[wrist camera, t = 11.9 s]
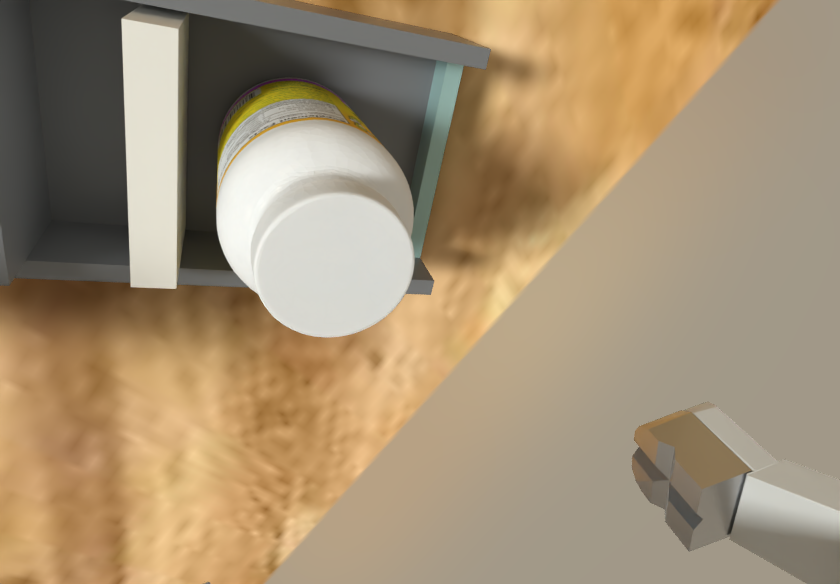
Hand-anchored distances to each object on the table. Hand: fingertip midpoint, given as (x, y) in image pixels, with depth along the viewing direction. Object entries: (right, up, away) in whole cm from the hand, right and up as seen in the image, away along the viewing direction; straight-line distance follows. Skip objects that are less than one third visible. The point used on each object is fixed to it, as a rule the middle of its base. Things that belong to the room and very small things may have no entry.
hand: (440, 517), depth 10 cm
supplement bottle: (-6, +11, +17) cm, 21 cm away
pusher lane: (-9, +12, +16) cm, 22 cm away
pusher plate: (-11, +11, +14) cm, 21 cm away
